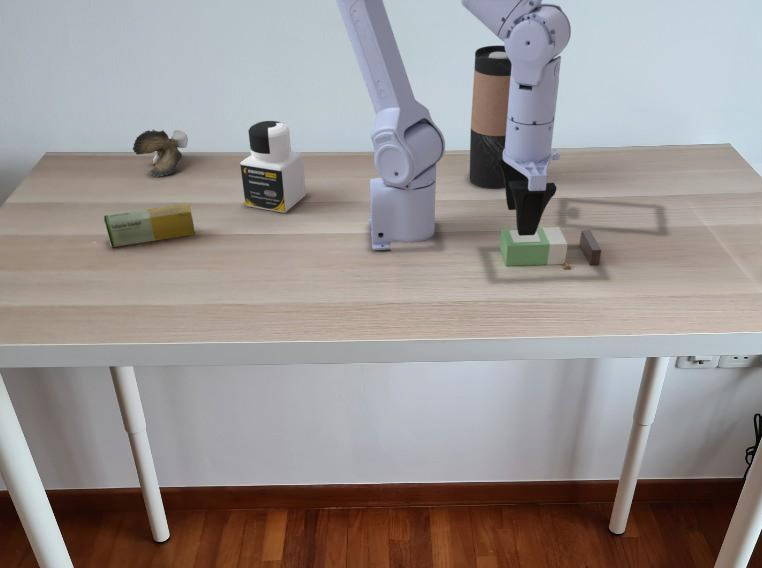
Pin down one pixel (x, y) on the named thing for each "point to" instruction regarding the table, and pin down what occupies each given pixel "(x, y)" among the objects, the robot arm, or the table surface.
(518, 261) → the block
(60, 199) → the table surface
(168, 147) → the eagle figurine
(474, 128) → the travel mug
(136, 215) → the medication box
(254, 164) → the medicine bottle
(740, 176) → the table surface
